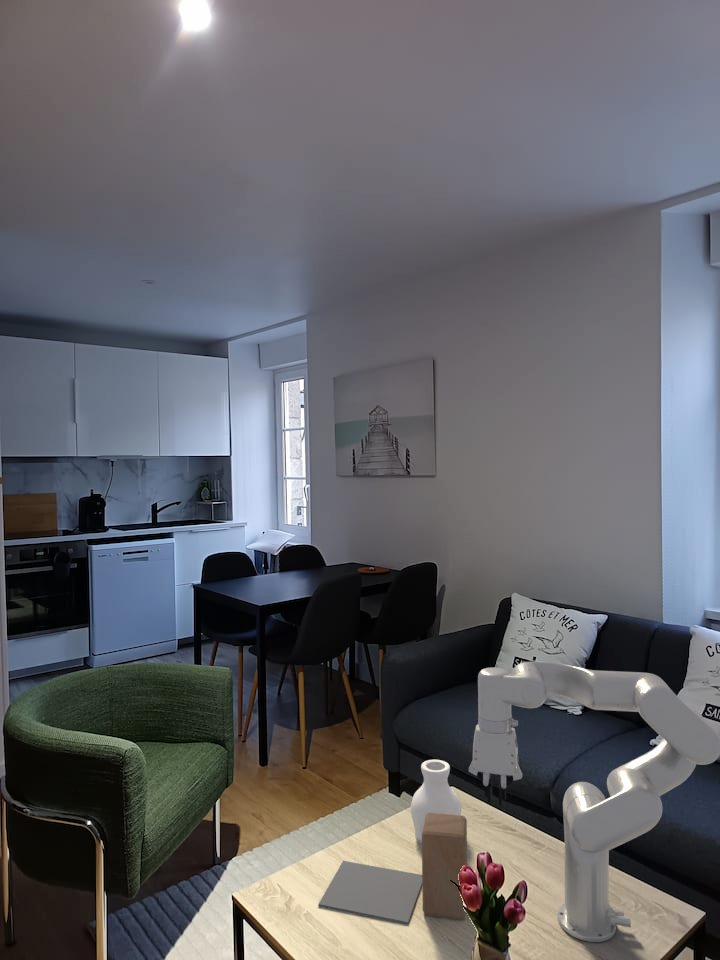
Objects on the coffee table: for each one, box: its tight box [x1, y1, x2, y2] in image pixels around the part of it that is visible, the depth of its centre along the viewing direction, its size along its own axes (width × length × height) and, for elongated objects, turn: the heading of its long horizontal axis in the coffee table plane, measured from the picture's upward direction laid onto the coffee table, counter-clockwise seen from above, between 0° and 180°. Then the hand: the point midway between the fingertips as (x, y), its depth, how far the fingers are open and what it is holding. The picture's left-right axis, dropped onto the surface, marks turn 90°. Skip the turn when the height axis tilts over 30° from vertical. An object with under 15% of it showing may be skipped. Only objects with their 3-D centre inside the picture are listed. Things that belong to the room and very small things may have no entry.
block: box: [421, 813, 468, 921], centre depth 160 cm, size 10×10×20 cm
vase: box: [410, 759, 462, 844], centre depth 191 cm, size 14×14×20 cm
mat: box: [318, 860, 422, 925], centre depth 166 cm, size 22×18×1 cm
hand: (495, 800), depth 156 cm, fingers closed
